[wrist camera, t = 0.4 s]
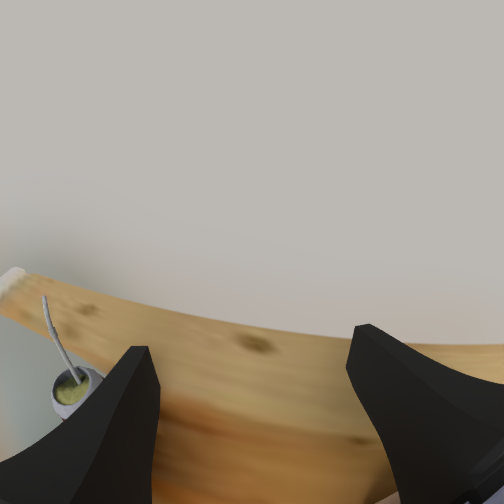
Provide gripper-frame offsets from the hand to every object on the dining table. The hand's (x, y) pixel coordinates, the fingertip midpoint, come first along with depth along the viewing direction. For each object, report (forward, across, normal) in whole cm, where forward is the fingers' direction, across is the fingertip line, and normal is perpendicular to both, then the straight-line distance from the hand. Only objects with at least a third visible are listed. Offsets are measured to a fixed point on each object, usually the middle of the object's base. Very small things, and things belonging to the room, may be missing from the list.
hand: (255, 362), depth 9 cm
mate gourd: (+11, +16, +20) cm, 28 cm away
